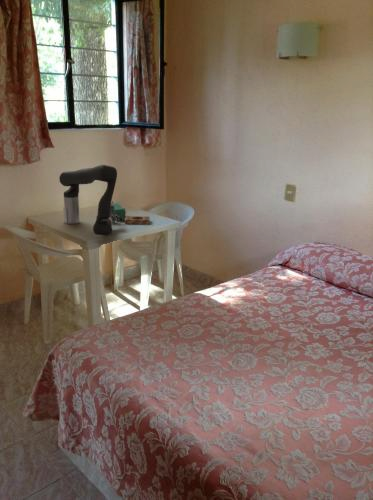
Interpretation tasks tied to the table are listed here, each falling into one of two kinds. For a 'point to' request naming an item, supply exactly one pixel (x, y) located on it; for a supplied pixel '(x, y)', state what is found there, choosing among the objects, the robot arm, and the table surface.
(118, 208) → the toy
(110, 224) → the robot arm
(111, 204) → the clip
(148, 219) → the rail
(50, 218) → the table surface
